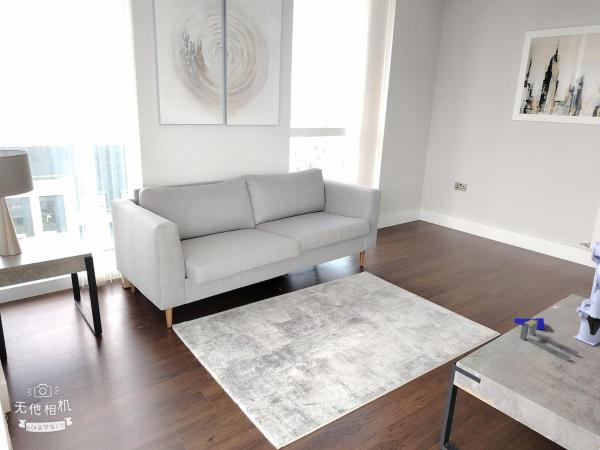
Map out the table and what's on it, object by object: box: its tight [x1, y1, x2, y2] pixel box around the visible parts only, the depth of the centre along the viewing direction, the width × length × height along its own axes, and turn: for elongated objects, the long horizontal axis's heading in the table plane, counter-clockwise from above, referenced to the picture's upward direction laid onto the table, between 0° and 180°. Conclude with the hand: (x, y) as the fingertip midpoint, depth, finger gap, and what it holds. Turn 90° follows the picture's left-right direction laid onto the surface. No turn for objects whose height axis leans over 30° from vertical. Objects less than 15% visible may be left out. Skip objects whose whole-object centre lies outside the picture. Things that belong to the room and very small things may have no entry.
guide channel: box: [527, 333, 579, 362], centre depth 178 cm, size 8×17×2 cm, turn 34°
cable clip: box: [513, 317, 546, 330], centre depth 197 cm, size 12×4×6 cm
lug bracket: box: [519, 318, 538, 341], centre depth 186 cm, size 9×2×8 cm, turn 124°
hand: (592, 334), depth 172 cm, fingers closed
